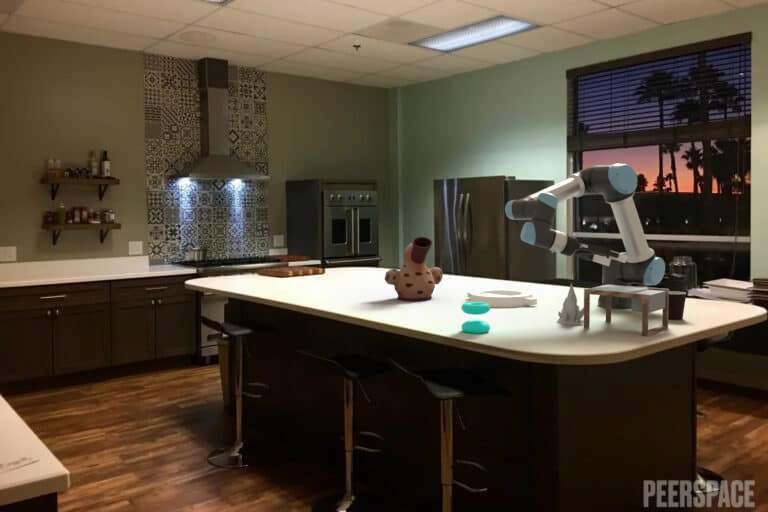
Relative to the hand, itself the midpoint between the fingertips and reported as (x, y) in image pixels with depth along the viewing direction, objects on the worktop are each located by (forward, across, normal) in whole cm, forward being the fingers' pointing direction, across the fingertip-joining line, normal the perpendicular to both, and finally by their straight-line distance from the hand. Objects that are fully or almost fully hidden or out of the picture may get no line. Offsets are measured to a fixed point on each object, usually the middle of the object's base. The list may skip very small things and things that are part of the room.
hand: (617, 261), depth 238 cm
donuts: (-44, +2, -40) cm, 59 cm away
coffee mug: (+32, -13, -12) cm, 37 cm away
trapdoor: (+5, +5, -16) cm, 18 cm away
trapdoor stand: (+7, +3, -23) cm, 24 cm away
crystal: (-7, -11, -26) cm, 29 cm away
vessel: (-57, -79, -30) cm, 102 cm away
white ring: (-22, -63, -21) cm, 70 cm away
